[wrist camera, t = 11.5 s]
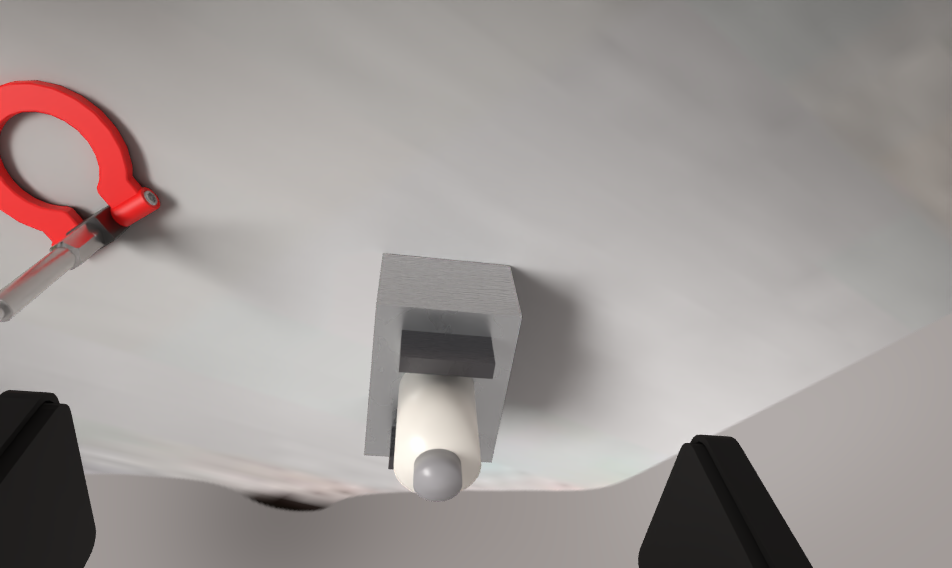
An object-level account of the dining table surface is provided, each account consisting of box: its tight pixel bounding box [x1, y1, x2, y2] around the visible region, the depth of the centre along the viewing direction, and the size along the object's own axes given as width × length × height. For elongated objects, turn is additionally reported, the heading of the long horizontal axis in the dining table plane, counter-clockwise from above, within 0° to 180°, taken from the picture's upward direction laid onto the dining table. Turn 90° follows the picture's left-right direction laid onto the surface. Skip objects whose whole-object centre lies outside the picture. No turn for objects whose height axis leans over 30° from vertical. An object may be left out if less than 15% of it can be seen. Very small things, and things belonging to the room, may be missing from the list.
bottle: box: [394, 373, 481, 502], centre depth 34 cm, size 4×4×7 cm
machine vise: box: [364, 253, 522, 469], centre depth 40 cm, size 13×8×8 cm, turn 172°
